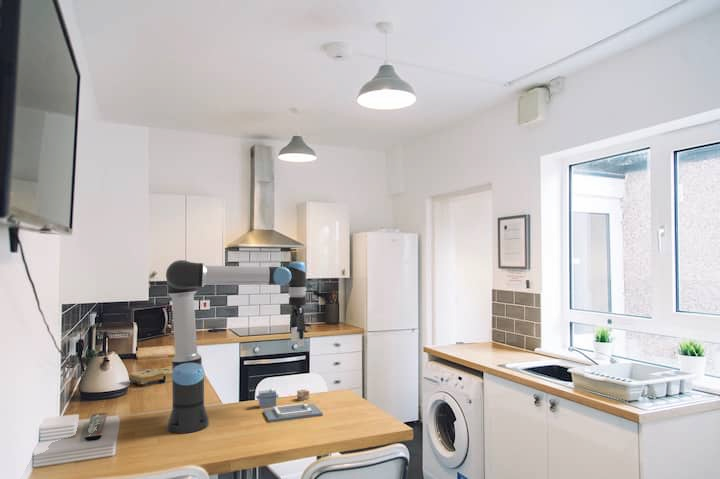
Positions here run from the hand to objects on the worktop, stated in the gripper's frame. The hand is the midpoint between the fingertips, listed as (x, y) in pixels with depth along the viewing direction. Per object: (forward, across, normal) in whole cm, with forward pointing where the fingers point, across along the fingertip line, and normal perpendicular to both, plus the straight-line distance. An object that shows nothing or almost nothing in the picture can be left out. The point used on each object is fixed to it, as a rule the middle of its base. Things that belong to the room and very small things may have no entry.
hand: (297, 344), depth 221 cm
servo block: (+27, +1, +13) cm, 30 cm away
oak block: (+26, +5, -4) cm, 27 cm away
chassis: (+26, -14, +5) cm, 30 cm away
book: (+28, +71, +61) cm, 98 cm away
